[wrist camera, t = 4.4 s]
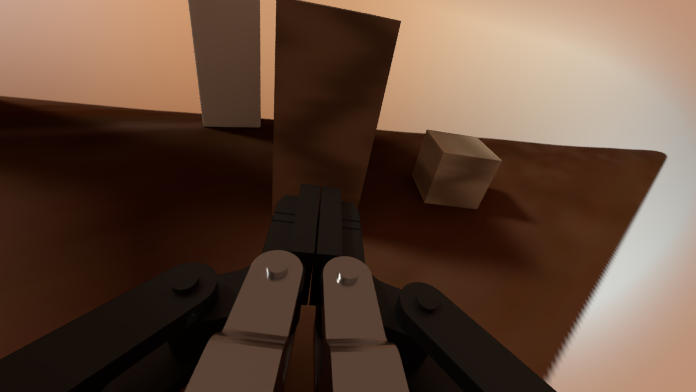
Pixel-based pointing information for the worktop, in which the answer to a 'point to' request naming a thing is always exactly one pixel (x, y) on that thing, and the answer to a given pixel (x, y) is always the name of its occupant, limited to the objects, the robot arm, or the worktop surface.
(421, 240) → the worktop surface
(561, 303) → the worktop surface
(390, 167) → the worktop surface
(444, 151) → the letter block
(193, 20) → the milk
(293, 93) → the walnut panel
